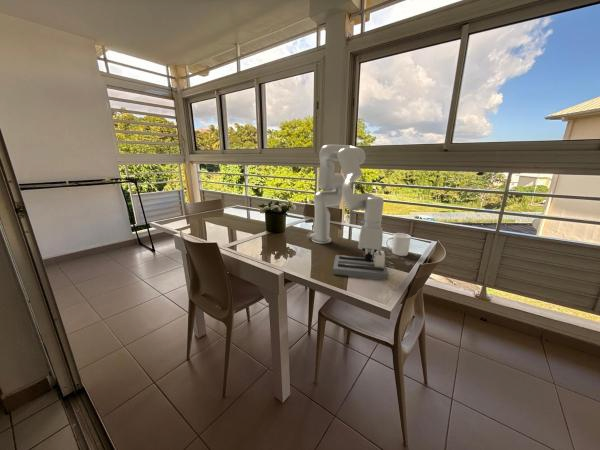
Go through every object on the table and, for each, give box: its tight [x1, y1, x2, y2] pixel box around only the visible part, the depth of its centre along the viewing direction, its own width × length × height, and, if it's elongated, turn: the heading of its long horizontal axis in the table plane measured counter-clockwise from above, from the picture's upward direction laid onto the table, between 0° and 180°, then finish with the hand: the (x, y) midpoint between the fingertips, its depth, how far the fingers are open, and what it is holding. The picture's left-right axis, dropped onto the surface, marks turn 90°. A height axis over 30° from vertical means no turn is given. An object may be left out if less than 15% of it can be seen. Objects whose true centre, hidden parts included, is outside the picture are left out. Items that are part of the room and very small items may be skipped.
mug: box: [386, 232, 411, 257], centre depth 134 cm, size 9×12×11 cm
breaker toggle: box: [373, 250, 386, 268], centre depth 112 cm, size 4×6×6 cm, turn 168°
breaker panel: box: [332, 254, 389, 281], centre depth 115 cm, size 24×16×4 cm, turn 78°
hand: (368, 261), depth 113 cm, fingers closed
